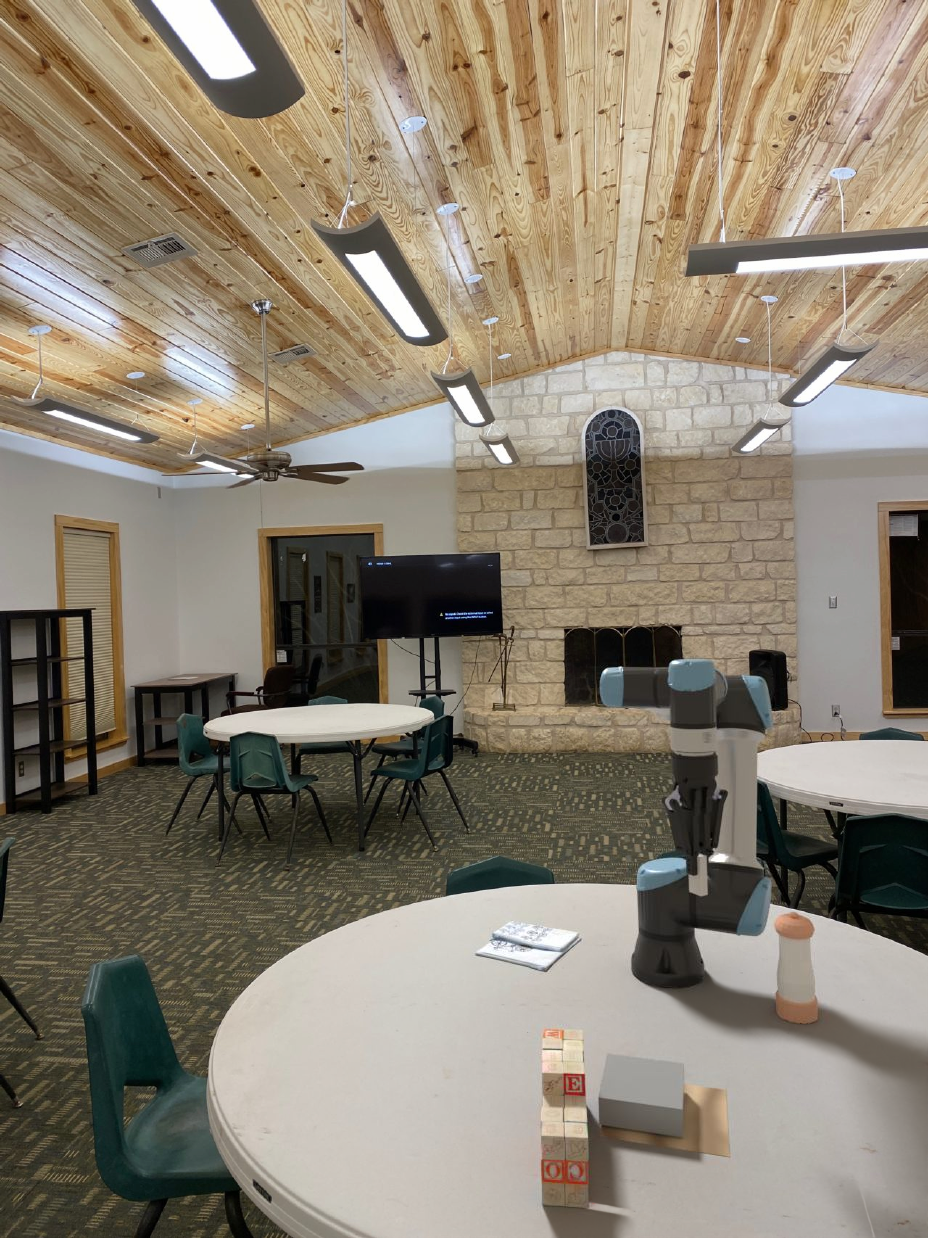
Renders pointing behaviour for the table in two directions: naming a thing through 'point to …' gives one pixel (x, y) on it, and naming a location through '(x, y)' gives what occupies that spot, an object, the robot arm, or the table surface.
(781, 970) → the salt shaker
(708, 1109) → the mat
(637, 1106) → the block
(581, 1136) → the stack of blocks
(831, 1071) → the table surface
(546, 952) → the folded white cloth
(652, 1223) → the table surface
